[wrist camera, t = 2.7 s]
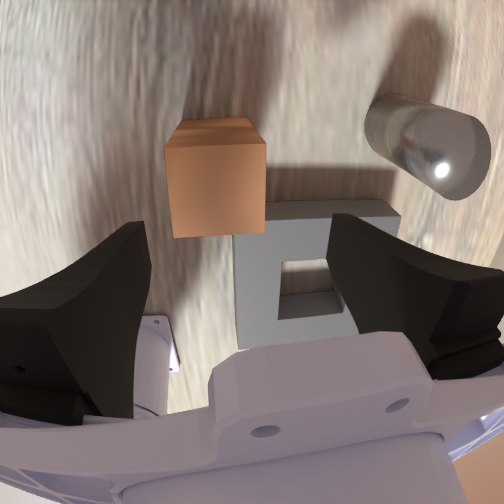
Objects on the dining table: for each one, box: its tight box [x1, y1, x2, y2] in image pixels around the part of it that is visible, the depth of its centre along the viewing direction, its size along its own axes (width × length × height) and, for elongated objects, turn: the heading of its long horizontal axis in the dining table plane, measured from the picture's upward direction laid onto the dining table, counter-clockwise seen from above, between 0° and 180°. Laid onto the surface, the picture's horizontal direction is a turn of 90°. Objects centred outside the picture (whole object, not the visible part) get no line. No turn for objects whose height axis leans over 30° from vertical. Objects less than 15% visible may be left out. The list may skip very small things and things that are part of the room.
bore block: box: [232, 200, 401, 350], centre depth 25 cm, size 12×12×3 cm
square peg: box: [164, 117, 266, 238], centre depth 17 cm, size 4×4×8 cm
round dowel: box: [365, 94, 491, 200], centre depth 17 cm, size 5×5×8 cm
